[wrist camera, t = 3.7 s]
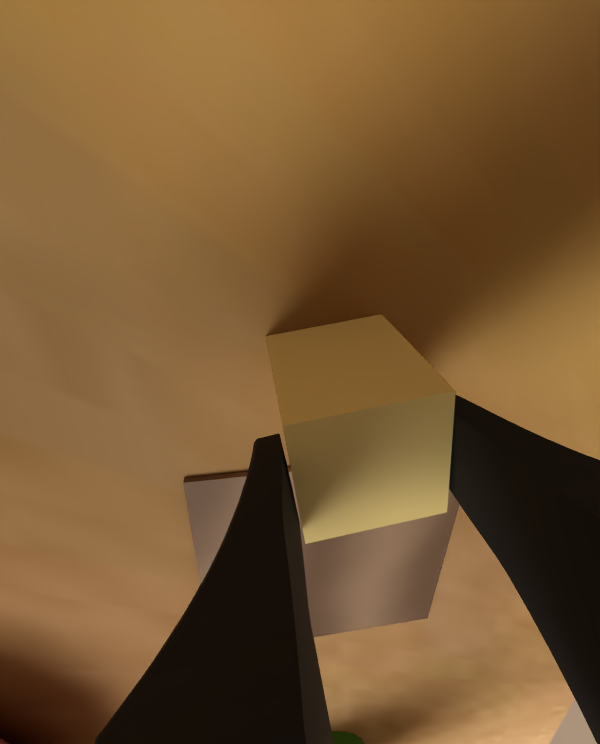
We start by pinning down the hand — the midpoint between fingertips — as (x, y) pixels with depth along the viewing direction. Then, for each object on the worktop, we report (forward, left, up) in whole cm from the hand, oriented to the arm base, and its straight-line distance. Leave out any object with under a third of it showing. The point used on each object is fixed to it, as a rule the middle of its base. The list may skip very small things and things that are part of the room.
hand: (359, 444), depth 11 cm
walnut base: (0, +10, -5) cm, 11 cm away
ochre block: (0, 0, -5) cm, 5 cm away
